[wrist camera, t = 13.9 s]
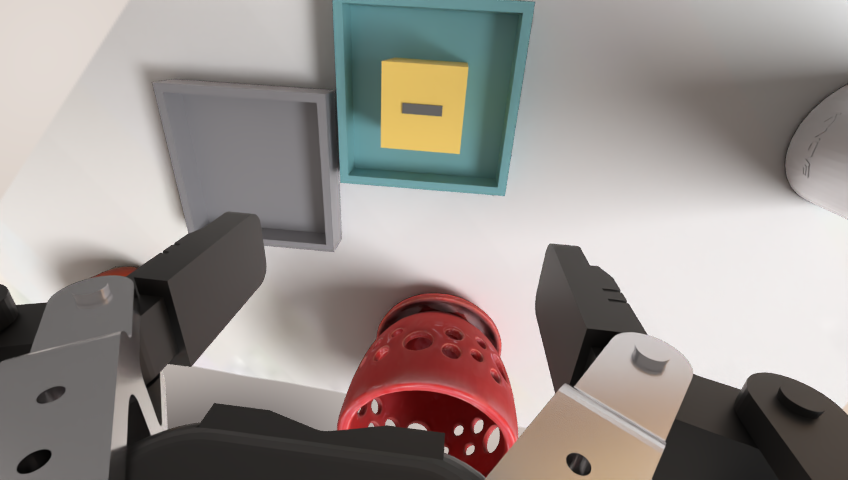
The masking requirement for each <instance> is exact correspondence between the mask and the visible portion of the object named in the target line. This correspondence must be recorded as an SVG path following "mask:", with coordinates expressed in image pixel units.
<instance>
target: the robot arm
mask: <svg viewBox="0 0 848 480" xmlns="http://www.w3.org/2000/svg"><path fill="white" fill-rule="evenodd" d="M785 168H786V175H787V179H788V181H789V183H790V185H791V187H792V188H793V190H794V191H795V192H796V193H797V194H798V195H799V196H801V197H802V198H804V199H806V200H808V201H809V202H811V203H814V204H816V205H818V206H820V207H822V208H824V209H826V210H828V211H831V212H833V213H835V214H837V215H839V216H841V217H843V218H845V219H848V85H846V86H844V87H842V88H840V89H839V90H837V91H836V92H834V93H833V94H831V95H830V96H828V97H827V98H825V99H824V100H823V101H822V102H821V103H820V104H819V105H817V106H816V107H815V108H814V109H813V110H812V111H811V112H810V113H809V114H808V116H807V117H806V118H805V119H804V120H803V122H802V123H801V124H800V126H799V127H798V129H797V131H796V132H795V134H794V136H793V137H792V140H791V142H790V145H789V148H788V151H787V155H786V163H785ZM265 274H266V258H265V250H264V243H263V236H262V229H261V223H260V219H259V217H258V216H257V215H256V214H250V213H240V212H230V211H228V212H225V213H224V214H222V215H221V216H220V217H218V218H217V219H215V220H214V221H212V222H211V223H210V224H208V225H207V226H205V227H204V228H202V229H199V230H196V231H194V232H191V233H189V234H187V235H186V236H184V237H183V238H181V239H180V240H178V241H177V242H175V244H174V245H171V246H170V247H168V248H167V249H165V250H164V251H163V253H159V254H158V255H157V256H155V257H154V258H152V259H151V260H149V261H148V262H146V263H145V264H143V265H142V266H141V267H139V268H138V269H136V270H135V271H133V272H132V273H130V274H129V275H127V276H126V277H124V276H117V275H108V276H99V277H94V278H89V279H86V280H82V281H79V282H76V283H74V284H71V285H69V286H67V287H65V288H63V289H61V290H60V291H58V292H57V293H55V294H54V295H53V296H52V297H51V298H50V299H49V300H48V302H47V303H36V304H24V305H15V303H14V301H13V299H12V297H11V295H10V293H9V291H8V289H7V287H5V286H4V285H1V284H0V480H651V479H652V480H848V415H847V414H846V413H845V412H844V411H843V410H842V409H841V408H840V407H839V406H838V405H837V404H836V403H834V402H833V401H832V400H831V399H829V398H828V397H826V396H825V395H823V394H822V393H820V392H818V391H817V390H815V389H813V388H811V387H809V386H808V385H806V384H803V383H801V382H799V381H797V380H794V379H791V378H789V377H785V376H782V375H778V374H773V373H756V374H753V375H751V376H750V377H749V378H748V379H747V381H746V382H745V384H744V386H743V388H742V389H741V390H740V389H737V388H734V387H731V386H728V385H725V384H721V383H718V382H715V381H712V380H709V379H706V378H703V377H700V376H697V375H695V374H693V369H692V367H691V365H690V363H689V361H688V360H687V359H686V358H685V356H684V355H683V354H681V353H680V352H679V351H678V350H677V349H675V348H674V347H673V346H671V345H669V344H668V343H666V342H664V341H662V340H660V339H657V338H655V337H652V336H649V335H647V333H646V331H645V330H644V328H643V327H642V325H641V323H640V322H639V320H638V318H637V317H636V315H635V313H634V312H633V310H632V309H631V307H630V305H629V304H628V303H627V300H626V299H625V297H624V295H623V294H622V293H620V289H619V287H618V286H617V284H616V282H615V281H614V279H613V278H612V277H611V276H610V275H609V274H607V273H606V272H605V271H603V270H602V269H601V268H600V267H598V266H590V265H589V263H588V261H587V259H586V257H585V256H584V254H583V252H582V250H581V248H580V247H579V246H571V245H560V244H549V245H548V247H547V250H546V253H545V258H544V262H543V267H542V271H541V275H540V280H539V284H538V289H537V293H536V301H535V311H536V317H537V321H538V326H539V330H540V334H541V338H542V342H543V346H544V350H545V354H546V358H547V362H548V366H549V370H550V374H551V378H552V382H553V386H554V390H555V395H554V396H553V397H552V398H551V400H550V401H549V402H548V403H547V404H546V406H545V407H544V408H543V409H542V410H541V412H540V413H539V414H538V415H537V416H536V418H535V419H534V420H533V421H532V423H531V424H530V425H529V426H528V427H527V429H526V430H525V431H524V432H523V434H522V435H521V436H520V437H519V438H518V440H517V441H516V442H515V443H514V444H513V446H512V447H511V448H510V449H509V450H508V452H507V453H506V454H505V455H504V456H503V458H502V459H501V460H500V461H499V463H498V464H497V465H496V466H495V467H494V469H493V470H492V471H491V472H490V473H489V475H488V476H487V477H484V476H483V475H482V474H481V473H480V472H478V471H477V470H475V469H474V468H473V467H471V466H470V465H468V464H466V463H465V462H463V461H461V460H459V459H457V458H455V457H453V456H451V455H448V454H446V453H444V442H445V433H441V432H433V431H425V430H417V429H410V428H402V427H394V426H377V427H367V428H357V429H347V430H337V431H319V430H316V429H313V428H311V427H309V426H306V425H304V424H302V423H299V422H297V421H294V420H291V419H289V418H287V417H284V416H282V415H280V414H277V413H275V412H272V411H270V410H263V409H255V408H247V407H240V406H232V405H224V404H216V403H214V404H213V406H212V407H211V409H210V410H209V411H208V413H207V414H206V416H205V417H204V419H203V420H202V421H201V423H193V424H188V425H183V426H178V427H175V428H172V429H167V410H166V392H165V391H166V390H165V379H164V376H163V372H162V370H163V368H164V367H165V366H166V365H167V364H174V365H181V366H189V367H191V366H192V365H193V364H194V363H195V362H196V360H197V359H198V358H199V357H200V356H201V355H202V353H203V352H204V351H205V350H206V349H207V348H208V346H209V345H210V344H211V343H212V342H213V340H214V339H215V338H216V337H217V336H218V335H219V333H220V332H221V331H222V330H223V329H224V328H225V326H226V325H227V324H228V323H229V322H230V320H231V319H232V318H233V317H234V316H235V315H236V313H237V312H238V311H239V310H240V309H241V308H242V306H243V305H244V304H245V303H246V302H247V300H248V299H249V298H250V297H251V296H252V295H253V293H254V292H255V291H256V290H257V289H258V288H259V286H260V285H261V284H262V282H263V280H264V277H265Z"/></svg>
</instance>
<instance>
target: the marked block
mask: <svg viewBox="0 0 848 480" xmlns="http://www.w3.org/2000/svg"><path fill="white" fill-rule="evenodd" d="M468 68H469V67H468V63H466V62H452V61H438V60H424V59H410V58H391V59H388V60H384V61H382V74H381V148H392V149H404V150H416V151H429V152H441V153H453V154H460V146H461V136H462V126H463V117H464V107H465V97H466V88H467V78H468Z"/></svg>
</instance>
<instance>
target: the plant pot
mask: <svg viewBox="0 0 848 480" xmlns="http://www.w3.org/2000/svg"><path fill="white" fill-rule="evenodd" d="M500 355H501V339H500V335H499V332H498V330H497V328H496V326H495V324H494V322H493V321H492V319H491V318H490V317H489V316H488V315H487V314H486V313H485V312H484V311H483V310H481V309H480V308H479V307H477V306H476V305H474V304H473V303H471V302H469V301H467V300H465V299H462V298H460V297H456V296H453V295H449V294H439V293H429V294H421V295H417V296H413V297H410V298H408V299H406V300H403V301H402V302H400V303H398V304H397V305H395V306H394V307H393V308H392V309H391V310H390V311H389V312H388V313H387V314H386V315H385V317H384V318H383V320H382V321H381V323H380V325H379V328H378V332H377V339H376V340H375V342H374V343H373V344H372V345H371V347H370V348H369V350H368V351H367V353H366V354H365V356H364V358H363V359H362V361H361V363H360V365H359V367H358V369H357V371H356V373H355V375H354V377H353V379H352V382H351V384H350V387H349V389H348V392H347V394H346V397H345V400H344V403H343V406H342V409H341V412H340V415H339V419H338V423H337V430H347V429H357V428H367V427H368V426H369V424H370V423H373V424H374V426H375V427H377V426H385V422H386V420H387V419H390V420H392V421H393V422H394V423H395V426H396V427H402V428H408V426H409V425H410V424H413V423H418V424H421V425H423V426H424V427H425V428H426V429H427V431H433V432H441V433H445V442H444V446H445V447H448V449H449V452H448V455H451V456H453V457H455V458H457V459H459V460H461V461H463V462H465V463H466V464H468V465H470V466H471V467H473V468H474V469H475V470H477V471H478V472H480V473H481V474H482V475H483V476H484V477H487V476H488V475H489V473H490V472H491V471H492V470H493V469H494V467H495V466H496V465H497V464H498V463H499V461H500V460H501V459H502V458H503V456H504V455H505V454H506V453H507V452H508V450H509V449H510V448H511V447H512V446H513V444H514V443H515V442H516V441H517V440H518V426H517V417H516V410H515V404H514V398H513V393H512V389H511V385H510V381H509V378H508V375H507V372H506V370H505V367H504V365H503V362H502V360H501V358H500ZM373 399H375V400H376V401H377V403H378V412H377V413H376V414H375V413H373V411H372V408H371V403H372V401H373ZM360 408H361V410H360V412H359V413H358V410H359V409H360ZM478 420H483V422H484V425H483V429H482V431H481V432H480V433H477V434H475V433H474V425H475V424H476V422H477V421H478ZM459 425H461V426H463V428H464V430H463V433H462V434H461V435H459V436H456V435H455V434H454V430H455V428H456V427H457V426H459ZM497 427H499V431H500V440H499V444H498V446H497V448H496V449H495V451H493V452H492V453H489V452H488V450H487V441H488V438H489V436H490V434H491V433H492V432H493V430H494V429H495V428H497ZM471 445H474V446H475V450H474V452H473V453H472V454H471V455H466V450H467V448H468V447H469V446H471Z"/></svg>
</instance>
